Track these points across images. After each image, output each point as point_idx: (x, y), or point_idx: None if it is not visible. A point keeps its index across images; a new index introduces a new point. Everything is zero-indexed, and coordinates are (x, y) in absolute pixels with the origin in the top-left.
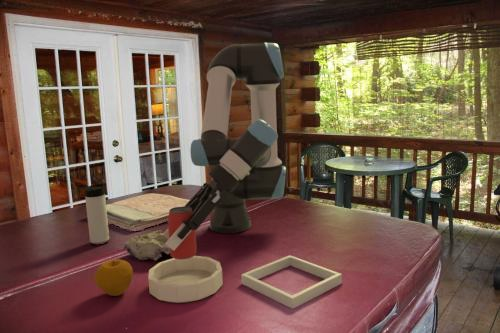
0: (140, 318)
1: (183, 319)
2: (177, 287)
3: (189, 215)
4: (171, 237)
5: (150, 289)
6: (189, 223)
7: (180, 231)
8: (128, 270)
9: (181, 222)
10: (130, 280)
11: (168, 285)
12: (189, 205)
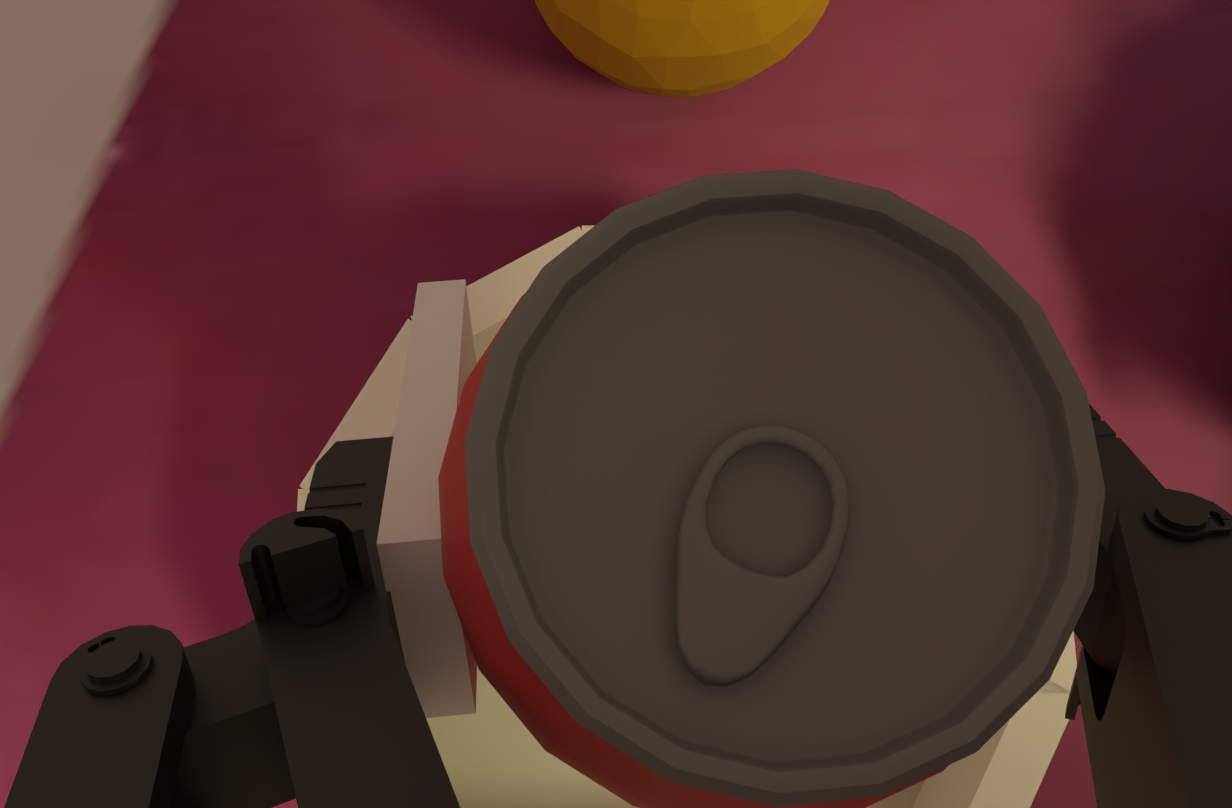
0: (214, 236)
1: (81, 555)
2: (298, 500)
3: (532, 703)
4: (411, 350)
5: None
6: (55, 677)
7: (381, 491)
8: (616, 14)
9: (439, 500)
10: (621, 81)
11: (349, 414)
12: (1226, 744)
